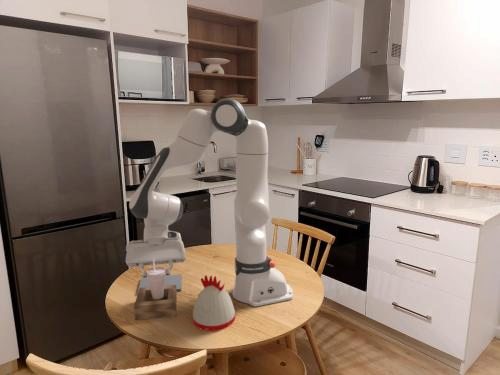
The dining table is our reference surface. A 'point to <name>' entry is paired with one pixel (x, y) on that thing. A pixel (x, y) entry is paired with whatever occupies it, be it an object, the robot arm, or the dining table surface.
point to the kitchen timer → (213, 306)
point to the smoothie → (156, 281)
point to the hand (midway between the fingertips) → (156, 275)
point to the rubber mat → (167, 281)
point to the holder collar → (155, 303)
